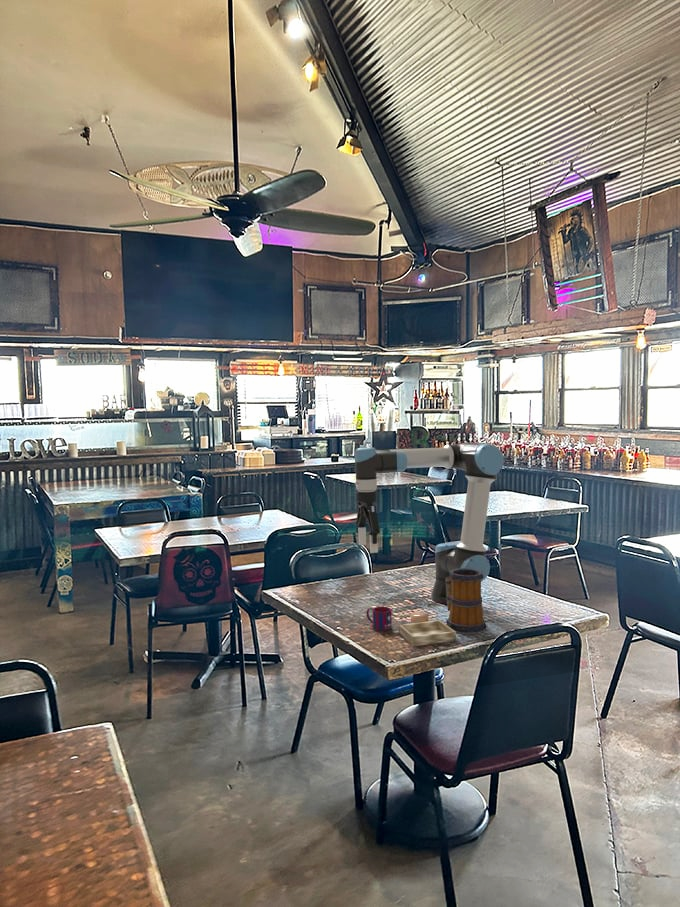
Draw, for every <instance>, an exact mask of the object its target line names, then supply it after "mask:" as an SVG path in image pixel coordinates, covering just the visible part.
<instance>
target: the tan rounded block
mask: <svg viewBox="0 0 680 907" xmlns="http://www.w3.org/2000/svg"><path fill="white" fill-rule="evenodd" d="M421 622H429V613H427V612H423V611H414V612H411V613H410V624H412V623H421Z"/></svg>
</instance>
